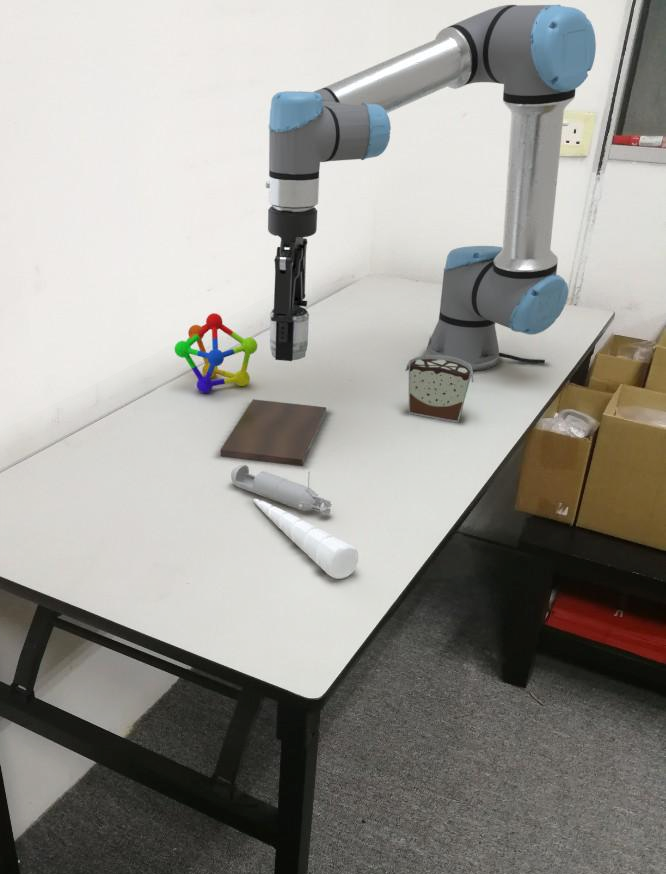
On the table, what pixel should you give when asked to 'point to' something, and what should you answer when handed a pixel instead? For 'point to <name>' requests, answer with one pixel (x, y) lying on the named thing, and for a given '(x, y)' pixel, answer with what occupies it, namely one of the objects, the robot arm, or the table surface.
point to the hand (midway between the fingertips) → (288, 352)
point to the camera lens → (299, 332)
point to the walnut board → (275, 432)
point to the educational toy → (215, 354)
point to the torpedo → (279, 490)
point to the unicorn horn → (315, 542)
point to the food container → (438, 386)
